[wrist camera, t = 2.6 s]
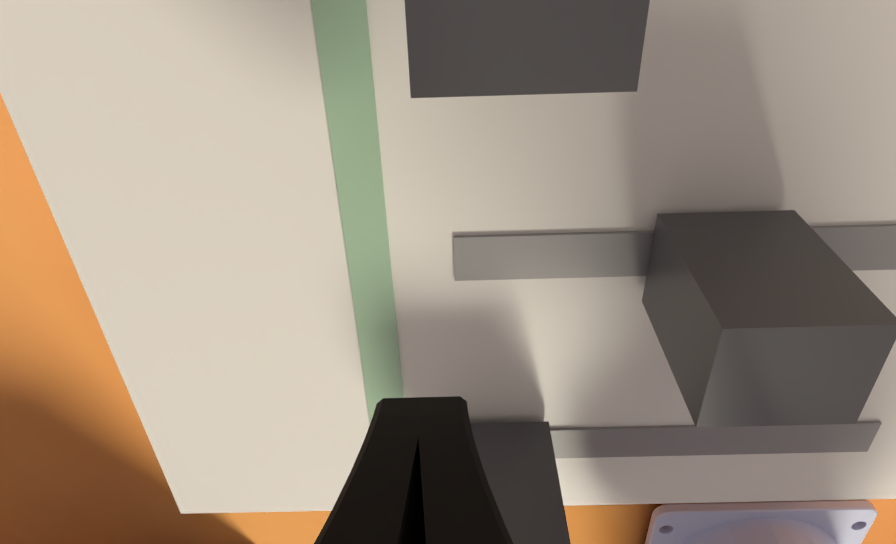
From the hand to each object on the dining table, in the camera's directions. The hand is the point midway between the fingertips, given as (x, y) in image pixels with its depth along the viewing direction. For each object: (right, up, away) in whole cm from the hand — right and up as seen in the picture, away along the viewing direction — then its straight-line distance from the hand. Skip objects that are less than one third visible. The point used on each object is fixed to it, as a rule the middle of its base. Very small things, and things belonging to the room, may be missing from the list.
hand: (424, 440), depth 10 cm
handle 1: (+1, +8, +1) cm, 8 cm away
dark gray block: (+7, +3, +4) cm, 8 cm away
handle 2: (+2, -2, +8) cm, 9 cm away
